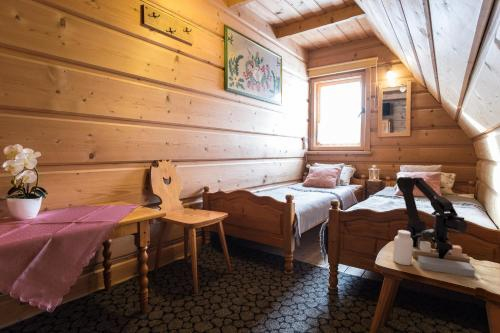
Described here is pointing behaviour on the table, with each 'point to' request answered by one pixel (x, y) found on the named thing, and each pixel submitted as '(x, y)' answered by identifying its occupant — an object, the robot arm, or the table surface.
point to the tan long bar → (435, 254)
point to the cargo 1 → (425, 246)
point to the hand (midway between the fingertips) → (439, 256)
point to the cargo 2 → (456, 251)
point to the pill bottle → (403, 248)
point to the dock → (446, 266)
